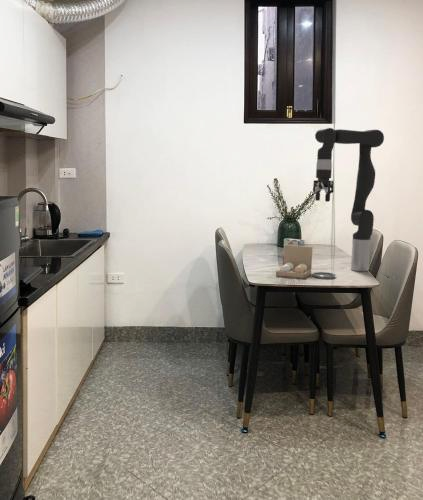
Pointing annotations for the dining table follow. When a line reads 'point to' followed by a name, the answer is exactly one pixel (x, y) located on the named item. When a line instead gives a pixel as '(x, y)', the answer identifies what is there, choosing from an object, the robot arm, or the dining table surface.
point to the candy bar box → (292, 244)
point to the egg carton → (296, 261)
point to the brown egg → (299, 269)
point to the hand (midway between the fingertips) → (322, 201)
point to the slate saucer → (324, 275)
